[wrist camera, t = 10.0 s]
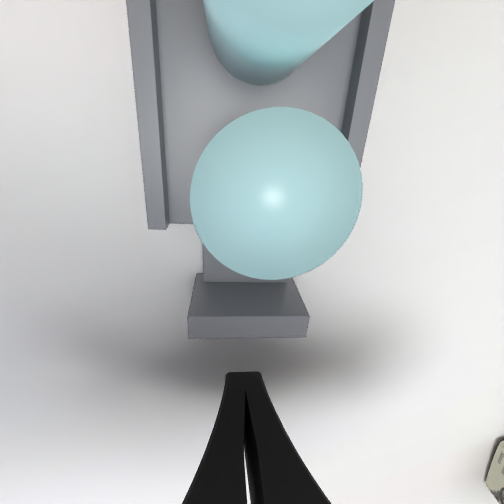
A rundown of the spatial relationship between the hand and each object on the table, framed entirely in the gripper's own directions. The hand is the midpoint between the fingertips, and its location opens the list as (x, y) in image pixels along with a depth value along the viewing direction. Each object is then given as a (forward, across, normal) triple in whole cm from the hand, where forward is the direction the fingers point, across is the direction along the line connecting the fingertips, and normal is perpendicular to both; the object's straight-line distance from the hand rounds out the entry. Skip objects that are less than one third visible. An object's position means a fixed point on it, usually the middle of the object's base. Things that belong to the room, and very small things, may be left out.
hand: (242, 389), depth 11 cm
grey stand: (+1, 0, -9) cm, 9 cm away
